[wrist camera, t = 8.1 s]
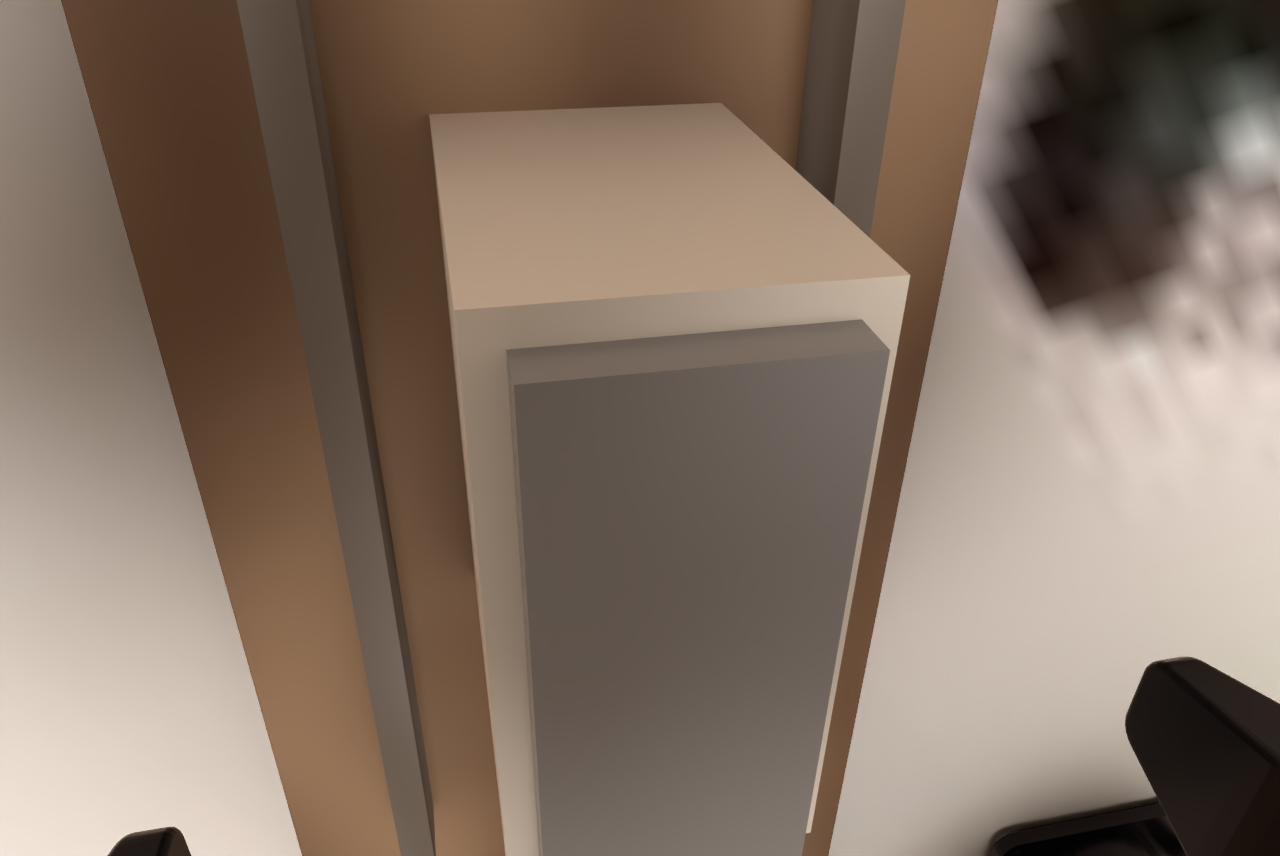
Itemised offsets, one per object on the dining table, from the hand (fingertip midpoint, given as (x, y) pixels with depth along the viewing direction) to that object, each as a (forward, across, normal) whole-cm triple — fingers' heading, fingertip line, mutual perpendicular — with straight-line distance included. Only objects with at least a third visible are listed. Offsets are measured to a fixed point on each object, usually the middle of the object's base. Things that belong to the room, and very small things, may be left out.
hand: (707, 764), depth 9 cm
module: (+8, 0, 0) cm, 8 cm away
